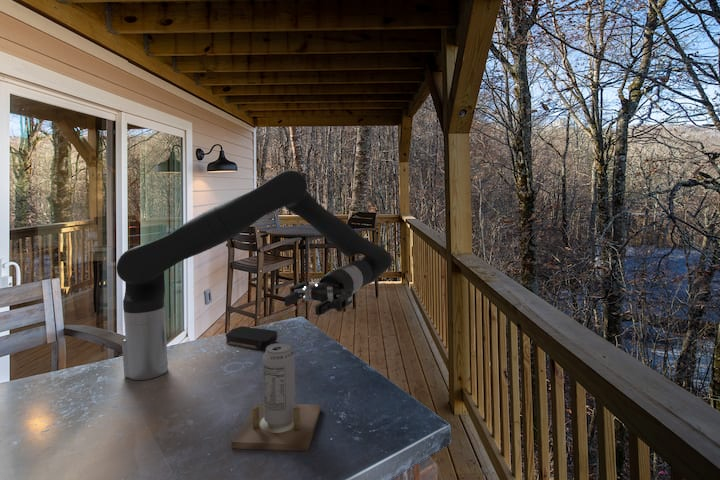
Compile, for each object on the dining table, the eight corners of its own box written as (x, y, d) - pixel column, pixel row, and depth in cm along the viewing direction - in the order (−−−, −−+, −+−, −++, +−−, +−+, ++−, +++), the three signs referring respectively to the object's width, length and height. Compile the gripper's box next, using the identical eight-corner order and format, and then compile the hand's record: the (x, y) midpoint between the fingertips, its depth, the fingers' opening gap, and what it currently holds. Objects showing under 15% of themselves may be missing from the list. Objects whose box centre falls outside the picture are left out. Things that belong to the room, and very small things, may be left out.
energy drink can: (301, 418, 80) (300, 345, 79) (280, 433, 75) (279, 355, 74) (279, 409, 83) (278, 339, 82) (257, 423, 78) (255, 349, 77)
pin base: (231, 448, 73) (230, 420, 72) (256, 408, 87) (255, 385, 86) (308, 450, 72) (307, 423, 71) (320, 410, 86) (320, 386, 85)
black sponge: (281, 342, 127) (280, 331, 127) (264, 351, 120) (263, 340, 119) (240, 336, 134) (239, 325, 134) (221, 344, 126) (221, 333, 126)
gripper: (318, 263, 103) (275, 284, 90) (367, 274, 96) (327, 297, 83) (319, 290, 105) (276, 314, 92) (366, 303, 98) (328, 330, 85)
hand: (300, 306), depth 87 cm, fingers open, 8 cm apart
